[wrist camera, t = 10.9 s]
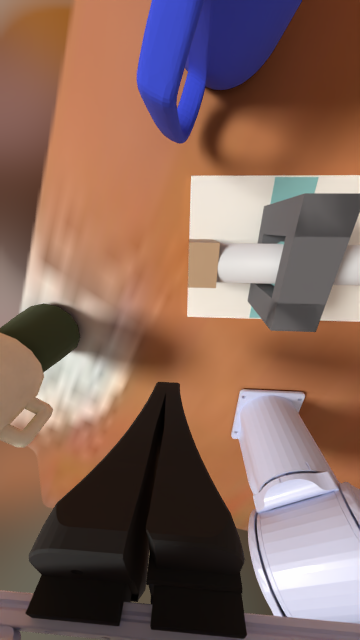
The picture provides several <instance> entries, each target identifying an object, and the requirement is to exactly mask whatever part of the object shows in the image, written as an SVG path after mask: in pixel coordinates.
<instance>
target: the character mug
mask: <svg viewBox="0 0 360 640" xmlns="http://www.w3.org/2000/svg"><path fill="white" fill-rule="evenodd" d="M79 338H80V335H79V330H78V325H77V324H76V322H75V321H74V320H73V318H72V317H71V315H70V314H69V313H67V312H66V311H64V310H63V309H61V308H59V307H58V306H53V305H48V304H40V305H35V306H31V307H29V308H28V309H26V310H25V311H23V312H22V313H20V314H18V315H17V316H16V317H15V318H13V319H12V320H10V321H9V322H8V323H6V324H5V325H4V326H2V327H1V328H0V440H1V441H4V442H6V443H8V444H11V445H13V446H15V447H25V446H27V445H28V444H29V443H30V442H32V440H33V439H34V438H35V436H36V435H37V434H38V432H39V431H40V430H41V428H42V427H43V426H44V424H45V423H46V422H47V420H48V419H49V418H50V416H51V414H52V412H53V408H52V407H51V406H50V405H49V404H47V403H45V402H43V401H41V400H40V399H38V398H36V396H37V395H38V392H39V389H40V386H41V384H42V381H43V378H44V375H43V372H45V371H46V370H47V369H49V368H50V367H51V366H53V365H54V364H56V363H57V362H58V361H60V360H61V359H62V358H63V357H65V356H66V355H67V354H69V353H70V352H71V351H72V350H73V349H75V348H76V347H77V345H78V342H79ZM24 408H25V409H27V410H29V411H31V412H33V413H35V414H36V415H35V416H34V417H33V419H32V420H31V421H30V422H29V423H28V425H27V426H26V427H25V428H24V429H23V430H21V429H18V428H16V427H14V426H12V425H10V424H11V423H12V421H13V420H14V419H15V418H16V417H17V416H18V415H19V414H20V413H21V412H22V411H23V410H24Z"/></svg>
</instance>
